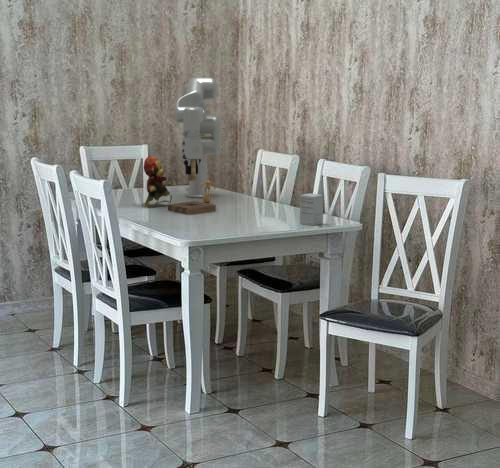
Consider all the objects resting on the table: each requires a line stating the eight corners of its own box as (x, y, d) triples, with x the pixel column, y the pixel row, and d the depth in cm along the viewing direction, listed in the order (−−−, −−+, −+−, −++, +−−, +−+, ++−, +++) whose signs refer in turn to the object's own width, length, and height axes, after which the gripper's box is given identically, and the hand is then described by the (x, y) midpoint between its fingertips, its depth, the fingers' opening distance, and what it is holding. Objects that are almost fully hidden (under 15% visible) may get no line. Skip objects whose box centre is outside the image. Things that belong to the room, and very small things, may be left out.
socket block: (167, 210, 387) (167, 204, 386) (193, 207, 398) (193, 201, 397) (189, 214, 376) (189, 208, 375) (215, 211, 387) (215, 204, 386)
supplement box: (309, 221, 360) (309, 193, 357) (323, 223, 355) (323, 194, 353) (299, 223, 354) (299, 194, 352) (313, 225, 350) (313, 196, 347)
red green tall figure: (151, 206, 389) (142, 154, 389) (137, 210, 403) (129, 160, 403) (179, 202, 396) (171, 151, 396) (165, 206, 411) (157, 157, 411)
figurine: (213, 201, 416) (213, 178, 414) (217, 203, 410) (217, 179, 408) (197, 202, 413) (197, 178, 411) (200, 204, 408) (200, 180, 405)
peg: (186, 180, 384) (186, 154, 382) (192, 180, 387) (192, 154, 385) (191, 181, 382) (191, 155, 380) (197, 180, 384) (197, 155, 382)
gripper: (182, 135, 372) (183, 176, 376) (210, 134, 384) (210, 173, 387) (172, 134, 377) (172, 174, 381) (199, 133, 389) (200, 172, 392)
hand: (191, 173), depth 384 cm, fingers closed on peg, 3 cm apart
